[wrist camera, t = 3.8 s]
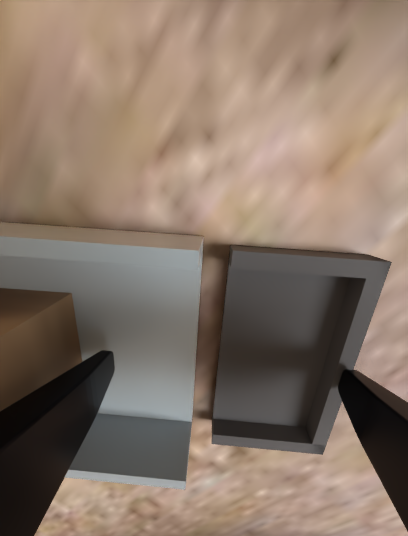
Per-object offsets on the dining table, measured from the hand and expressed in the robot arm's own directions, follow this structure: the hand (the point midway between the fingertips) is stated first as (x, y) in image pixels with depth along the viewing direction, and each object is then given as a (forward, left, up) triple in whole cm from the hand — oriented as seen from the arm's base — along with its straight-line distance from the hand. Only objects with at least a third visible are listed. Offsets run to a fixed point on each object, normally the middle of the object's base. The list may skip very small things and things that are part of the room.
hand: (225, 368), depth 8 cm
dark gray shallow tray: (-2, 0, -1) cm, 3 cm away
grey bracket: (+7, 0, -1) cm, 7 cm away
